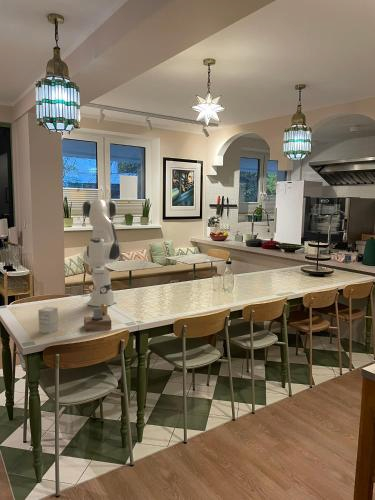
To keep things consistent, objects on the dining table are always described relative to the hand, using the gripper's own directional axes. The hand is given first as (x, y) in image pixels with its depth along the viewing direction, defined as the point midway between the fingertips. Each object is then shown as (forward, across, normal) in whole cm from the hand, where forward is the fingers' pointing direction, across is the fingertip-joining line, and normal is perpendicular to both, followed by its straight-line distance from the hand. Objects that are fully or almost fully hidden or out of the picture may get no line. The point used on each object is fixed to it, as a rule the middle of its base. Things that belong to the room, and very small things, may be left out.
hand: (97, 291), depth 212 cm
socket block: (+21, 0, 0) cm, 21 cm away
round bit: (+21, -10, +5) cm, 23 cm away
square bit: (+20, 0, 0) cm, 20 cm away
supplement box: (+21, -2, -26) cm, 33 cm away
